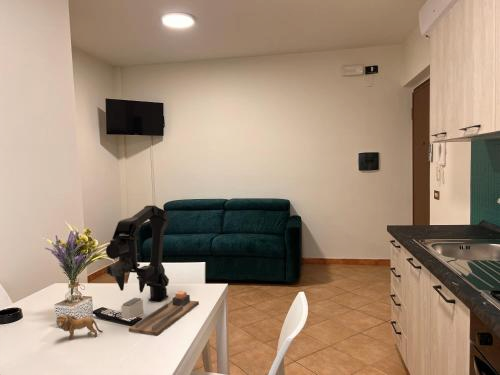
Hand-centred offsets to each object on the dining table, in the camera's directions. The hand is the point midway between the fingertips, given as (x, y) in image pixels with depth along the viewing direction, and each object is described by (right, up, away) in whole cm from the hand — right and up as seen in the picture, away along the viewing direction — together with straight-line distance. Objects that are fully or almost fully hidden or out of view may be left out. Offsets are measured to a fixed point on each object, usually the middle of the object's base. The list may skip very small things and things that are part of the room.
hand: (131, 291), depth 146 cm
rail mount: (+14, -10, 0) cm, 17 cm away
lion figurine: (-14, -12, -15) cm, 24 cm away
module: (0, -11, +1) cm, 11 cm away
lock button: (+18, -6, +10) cm, 21 cm away
